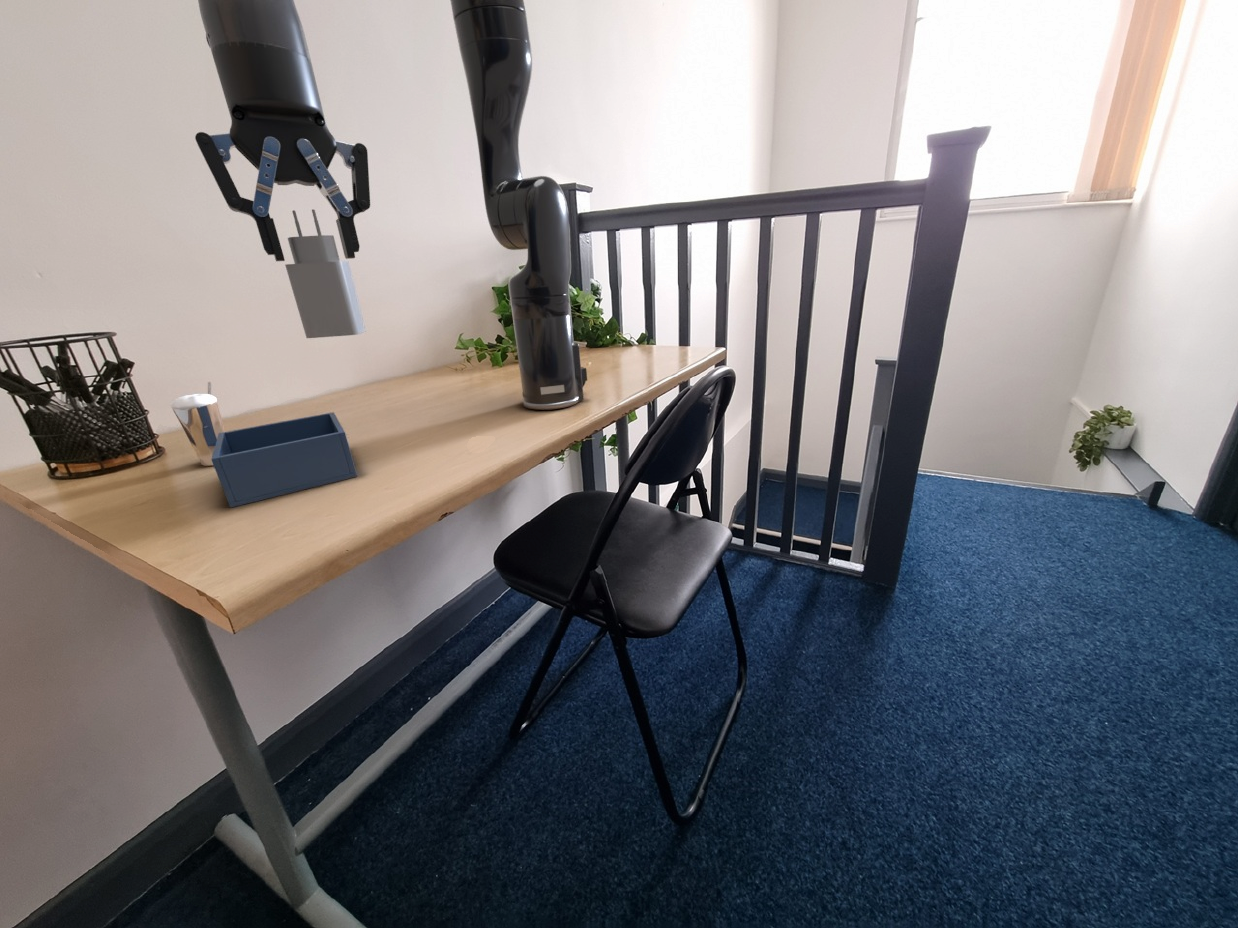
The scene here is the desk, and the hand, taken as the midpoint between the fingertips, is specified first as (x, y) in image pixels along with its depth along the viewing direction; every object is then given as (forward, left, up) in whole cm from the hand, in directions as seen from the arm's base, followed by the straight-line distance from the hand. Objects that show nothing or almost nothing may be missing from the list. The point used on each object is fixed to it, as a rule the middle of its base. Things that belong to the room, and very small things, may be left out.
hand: (316, 259), depth 50 cm
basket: (+8, -5, -24) cm, 25 cm away
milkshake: (+16, -19, -24) cm, 34 cm away
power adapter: (0, 0, -8) cm, 8 cm away
